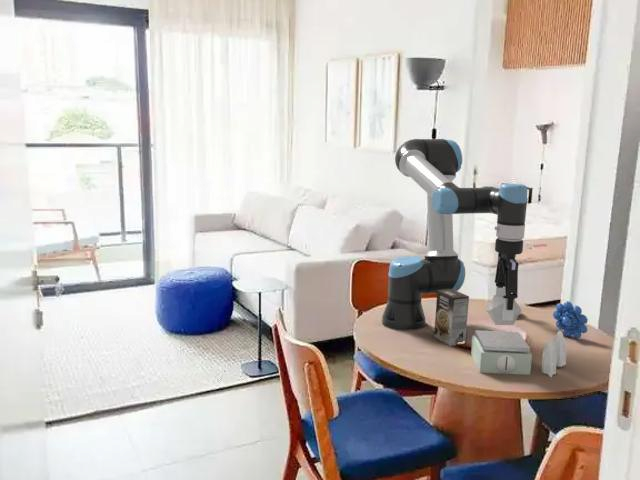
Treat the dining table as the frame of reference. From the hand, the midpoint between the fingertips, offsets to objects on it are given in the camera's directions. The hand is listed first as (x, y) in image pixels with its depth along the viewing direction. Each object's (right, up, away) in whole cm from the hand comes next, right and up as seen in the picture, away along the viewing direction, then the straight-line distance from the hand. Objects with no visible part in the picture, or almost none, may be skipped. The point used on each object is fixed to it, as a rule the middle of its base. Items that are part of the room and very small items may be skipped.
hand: (503, 314), depth 172 cm
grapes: (+30, -11, +27) cm, 41 cm away
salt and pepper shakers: (+14, -16, 0) cm, 22 cm away
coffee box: (-11, -11, +21) cm, 27 cm away
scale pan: (0, -9, +2) cm, 9 cm away
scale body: (0, -15, +3) cm, 15 cm away
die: (0, -3, +1) cm, 3 cm away
